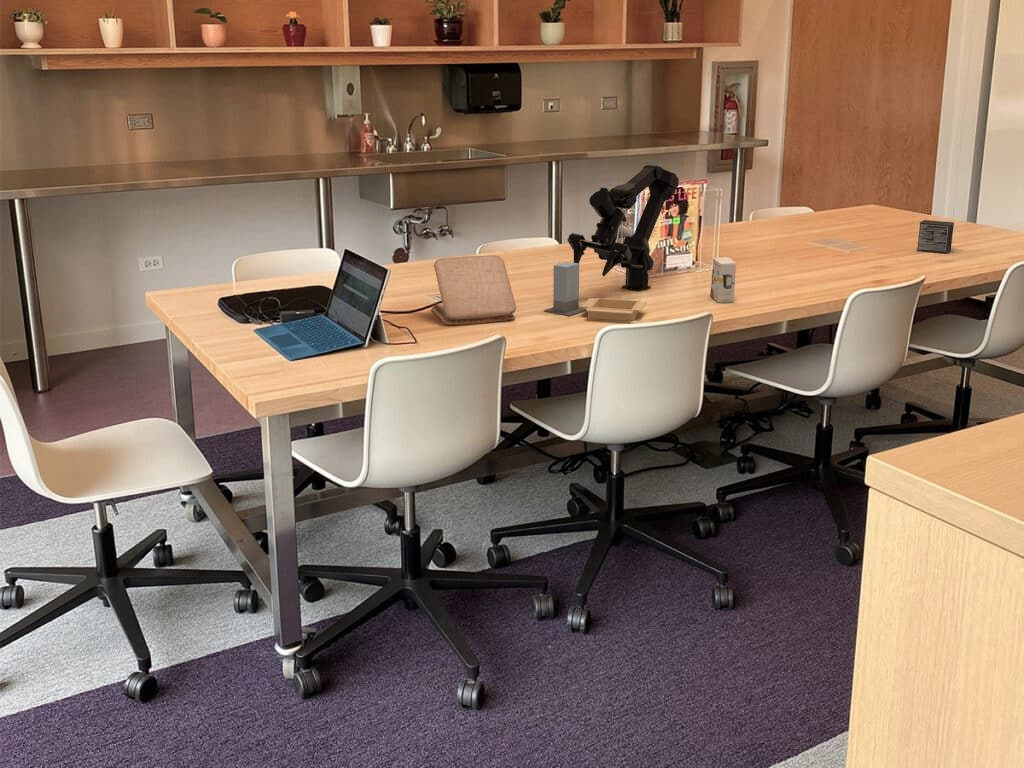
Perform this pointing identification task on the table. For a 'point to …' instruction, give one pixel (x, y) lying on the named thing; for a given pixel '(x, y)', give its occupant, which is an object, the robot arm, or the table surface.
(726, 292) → the ink box
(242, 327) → the table surface
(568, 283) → the slate box
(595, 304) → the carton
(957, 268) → the table surface
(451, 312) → the case
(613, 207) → the robot arm
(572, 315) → the mat
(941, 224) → the small box
